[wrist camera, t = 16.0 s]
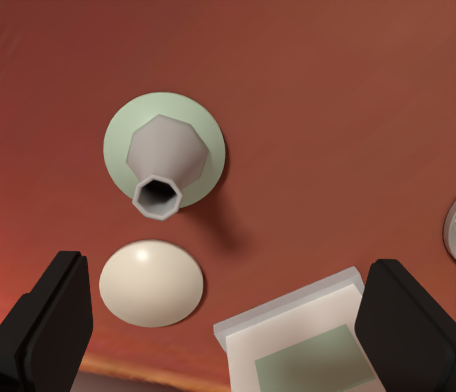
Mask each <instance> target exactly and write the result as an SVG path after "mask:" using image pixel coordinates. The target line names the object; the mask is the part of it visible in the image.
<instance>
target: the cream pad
mask: <svg viewBox="0 0 456 392" xmlns="http://www.w3.org/2000/svg"><path fill="white" fill-rule="evenodd" d="M99 288H100V294H101V297H102V299H103V301H104V303H105V305H106V306H107V308H108V309H109V310H110V311H111V312H112V313H113V314H114V315H116V316H117V317H118V318H120V319H122V320H124V321H126V322H128V323H130V324H133V325H137V326H142V327H162V326H167V325H171V324H173V323H176V322H178V321H180V320H182V319H184V318H185V317H187V316H188V315H189V314H190V313H191V312H192V311H193V310H194V309H195V308H196V306H197V305H198V303H199V301H200V299H201V296H202V292H203V276H202V271H201V268H200V266H199V264H198V262H197V261H196V259H195V258H194V257H193V256H192V255H191V254H190V253H189V252H188V251H187V250H185V249H184V248H182V247H181V246H179V245H176V244H174V243H171V242H168V241H164V240H157V239H146V240H139V241H135V242H132V243H129V244H127V245H125V246H123V247H121V248H120V249H118V250H117V251H116V252H115V253H113V254H112V255H111V257H110V258H109V259H108V261H107V262H106V264H105V266H104V269H103V271H102V274H101V277H100V284H99Z"/></svg>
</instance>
